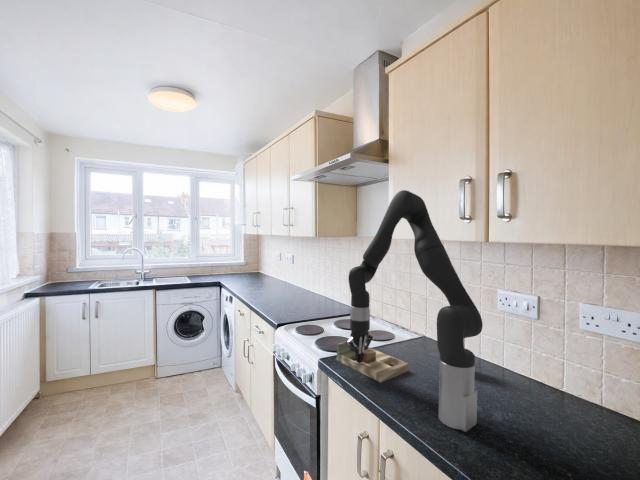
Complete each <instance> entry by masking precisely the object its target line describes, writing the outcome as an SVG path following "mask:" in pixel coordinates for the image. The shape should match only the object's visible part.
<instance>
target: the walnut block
mask: <svg viewBox="0 0 640 480" xmlns="http://www.w3.org/2000/svg"><path fill="white" fill-rule="evenodd" d="M374 361H376V352H375V351H372V350H370V349H367V350H364V352H363V362H364V363H366V364H368V363H371V362H374Z"/></svg>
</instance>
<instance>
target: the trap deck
mask: <svg viewBox="0 0 640 480" xmlns="http://www.w3.org/2000/svg"><path fill="white" fill-rule="evenodd" d="M357 349H358V348H357ZM368 349H370V350H372V351H375V352H376V361H374V362H371V363H368V364H366V363H364V362H361V363H358V362H356V360H355V352H353V351H351V349H350V348H349V346H348V345H347V343H346V340H345V341H342V342H339V343H336V361H337V362H339V363H341V364H343V365H345V366H347V367H349V368H351V369H353V370H355V371H356V372H358V373H360V374H363V375H365V376H366V377H368V378H369V379H370V378H371V379H372V380H375V382H378V383H380V384H382V383H383V382H386V381H389V380H391V379H393V378H395V377H398V376H400V375H402V374H405V373H407V372H409V363H408V362H405V361H403V360H401V359H399V358H396V357H394V356H392V355H391V356H390V355H389V354H386V353H384V352H381V351H378V350H376V349H374V348H372V347H368Z"/></svg>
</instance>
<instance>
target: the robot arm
mask: <svg viewBox="0 0 640 480" xmlns="http://www.w3.org/2000/svg"><path fill="white" fill-rule="evenodd" d="M402 219H405V220H406V221H407V223H408V224H409V226H410V228H411V230H412V233H413V235H414V245H413V246H414V247H413V248H414V250H413V251H414V255H415V258H416V260H417V262H418V265H419V268H420V269H421V271H422V273H423V275H424V276H426V278H427V279H428V280H429V281H430V282H432V284H434V286H436V287H437V289H439V290H440V291H441V292H442V294H444V295H443V296H445V297H446V300H447V301H448V304H449V305H445V306H443V307H442V308H440V309H439V311H438V313H437V316H436V341H437V342H436V343H437V344H436V345H437V349H438V353H439V371H438V373H439V375H438V377H439V378H438V381H439V382H438V420H439V421H440V422H441V423H442V424H444V425H445V426H447V427H448V428H451V429H454V430H460V431H462V432H464V433H466V432H468V431H470V430H471V429H472V428H473V427H474V426H476V425H477V423H478V422H477V417H478V416H477V414H478V391H477V390H475V374H476V373H475V372H476V371H475V370H476V368H475V367H476V366H475V365H476V355H475V354H474V352H473V351H472V350H470V349H468V348H466V347H465V348H464V343H463V338H465V339H467V338H473V337H476V336H477V337H478V335H480V334H481V333H482V330H483V325H484V324H483V319H482V317H481V313H480V311H479V310H478V308H477V307H476V304H475V303H474V301H473V299H472V298H471V297H470V295H469V293H468V292H467V290H466V288H465V287H464V284H463V283H462V282H461V279H460V278H459V275H458V273H457V272H456V269H455V268H454V266H453V264H452V261H451V259H450V256H449V254H448V253H447V250H446V248H445V246H444V244H443V242H442V240H441V239H440V236H439V234H438V233H437V230H436V228H435V227H434V225H433V223H432V220H431V218H430V214H429V211H428V208H427V206H426V203H425V201H424V200H423V198H422V197H420V196H419V195H417V194H416V193H414V192H411V191H410V190H407V189H406V190H405V189H404V190H403V189H402V190H399V191H398V192H396V194H395V195H393V198H392V199H391V201H390V202H389V205H388V207H387V210H386V212H385V214H384V216H383V218H382V220H381V223H380V226H379V227H378V230H377V232H376V233H375V236H373V239H372V241H371V242H370V243H369V245H368V247H367V248H366V249H365V251H364V253H363V255H362V259H363V260H362V262H361V264H360V265H357V266H354V267H351V269H350V270H349V273H348V286H349V290H350V294H351V296H350V297H351V298H350V311H349V312H350V315H349V316H350V317H349V322H350V323H349V329H350V331H351V332H350V335H349V336H350V338H349V339H346V340H345V341H346V343H347V345H348V346H349V348H350V349H351V351H353V352H355V359H354V361H356V362H358V363H361V362H363V352H364V350H367V349H368V347H369V346H370V345H371V343H372V340H373V338H374V337H373V335H371V334H370V333H369V331H370V326H371V324H370V323H371V322H370V321H371V319H370V318H371V310H370V299H371V298H370V293H369V291H368V290H367V289H366V284H368V283H369V282H371V280H372V279H373V278H374V277H375V274H376V272H377V270H378V268H379V265H380V264H381V263H382V261H383V260H384V258H385V257H386V256H387V254H388V252H389V250H390V248H391V245H392V241H393V236H394V235H393V234H394V231H395V229H396V226H397V225H398V224H399V222H400V221H401V220H402ZM357 348H358V349H357ZM369 348H370V347H369Z"/></svg>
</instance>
